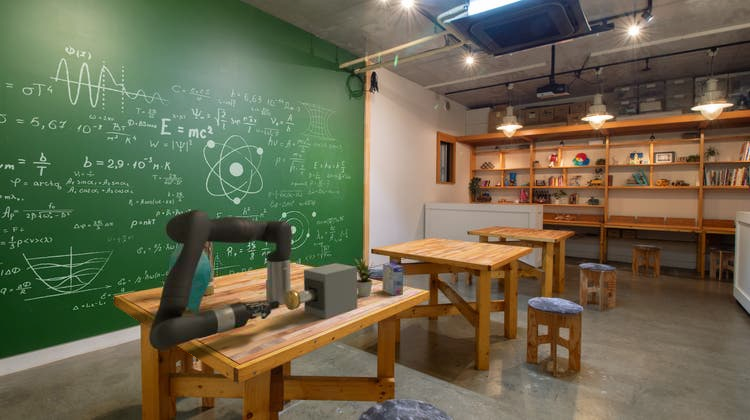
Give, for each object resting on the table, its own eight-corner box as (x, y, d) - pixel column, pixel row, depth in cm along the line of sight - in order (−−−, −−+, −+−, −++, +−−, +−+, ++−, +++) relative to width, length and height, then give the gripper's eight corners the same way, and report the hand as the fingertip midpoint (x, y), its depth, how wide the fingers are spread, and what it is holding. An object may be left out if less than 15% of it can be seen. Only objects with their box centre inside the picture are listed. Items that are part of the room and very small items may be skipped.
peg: (295, 311, 124) (295, 293, 123) (284, 307, 128) (284, 289, 128) (328, 301, 135) (328, 284, 135) (317, 298, 139) (317, 281, 139)
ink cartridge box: (404, 294, 161) (403, 261, 160) (393, 296, 158) (392, 262, 157) (392, 289, 169) (392, 257, 169) (382, 290, 167) (381, 259, 166)
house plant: (338, 294, 162) (338, 257, 161) (363, 288, 171) (362, 253, 170) (359, 301, 151) (359, 261, 150) (384, 294, 160) (384, 257, 159)
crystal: (166, 313, 138) (162, 233, 137) (202, 304, 149) (199, 230, 148) (181, 319, 131) (178, 235, 129) (218, 309, 142) (215, 232, 140)
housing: (325, 319, 130) (325, 274, 129) (304, 312, 138) (303, 269, 137) (357, 308, 142) (356, 267, 141) (336, 302, 150) (335, 263, 149)
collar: (322, 310, 130) (321, 282, 130) (304, 305, 137) (304, 278, 136) (323, 310, 131) (323, 282, 130) (306, 304, 137) (305, 278, 137)
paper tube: (200, 292, 167) (198, 237, 165) (216, 292, 167) (214, 237, 166) (194, 296, 160) (192, 239, 159) (210, 296, 160) (208, 239, 159)
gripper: (238, 310, 105) (289, 296, 118) (216, 301, 113) (266, 289, 126) (239, 335, 105) (289, 319, 118) (217, 325, 114) (266, 310, 127)
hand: (277, 303), depth 122 cm, fingers closed
